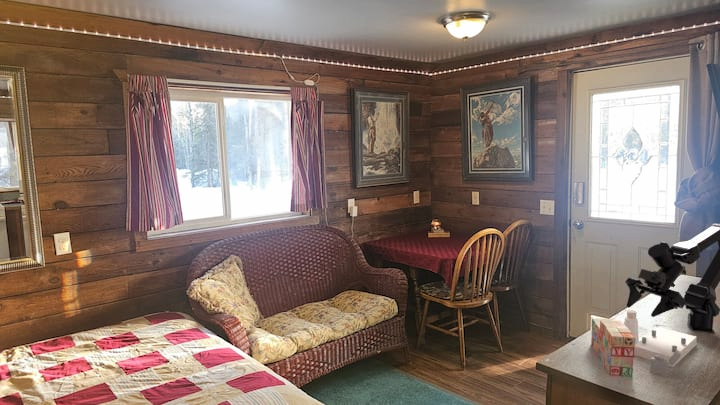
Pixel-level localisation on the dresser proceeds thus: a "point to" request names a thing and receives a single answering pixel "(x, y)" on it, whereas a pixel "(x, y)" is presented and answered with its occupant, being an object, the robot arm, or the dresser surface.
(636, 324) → the pepper shaker
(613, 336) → the stack of blocks
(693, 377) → the dresser surface
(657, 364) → the lighter
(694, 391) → the dresser surface
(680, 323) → the dresser surface
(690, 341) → the cream board with pegs
